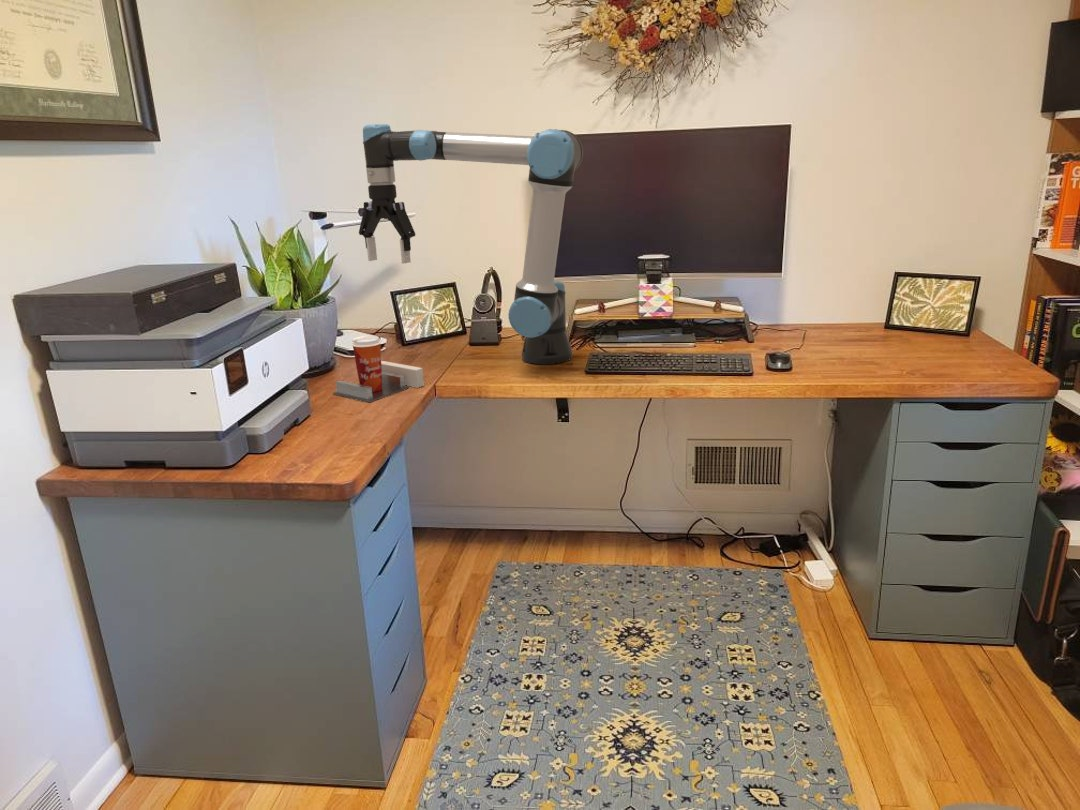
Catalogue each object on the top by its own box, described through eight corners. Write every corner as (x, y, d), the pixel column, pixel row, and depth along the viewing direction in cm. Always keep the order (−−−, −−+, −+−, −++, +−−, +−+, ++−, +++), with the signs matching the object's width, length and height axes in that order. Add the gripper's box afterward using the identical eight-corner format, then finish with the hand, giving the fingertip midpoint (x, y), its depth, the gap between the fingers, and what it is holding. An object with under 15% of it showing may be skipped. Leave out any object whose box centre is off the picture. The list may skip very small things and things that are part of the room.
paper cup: (364, 396, 199) (358, 343, 195) (352, 389, 205) (346, 338, 201) (391, 389, 204) (386, 338, 199) (379, 383, 209) (373, 333, 205)
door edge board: (424, 385, 208) (422, 368, 206) (417, 388, 206) (416, 370, 204) (378, 376, 218) (376, 359, 216) (371, 378, 216) (369, 361, 214)
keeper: (409, 388, 206) (407, 375, 205) (369, 402, 195) (368, 389, 194) (373, 381, 214) (371, 368, 213) (333, 394, 203) (331, 381, 202)
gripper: (340, 184, 216) (349, 261, 223) (404, 184, 202) (411, 265, 208) (361, 183, 221) (369, 257, 228) (424, 183, 207) (430, 262, 214)
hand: (389, 261), depth 218 cm, fingers open, 13 cm apart
